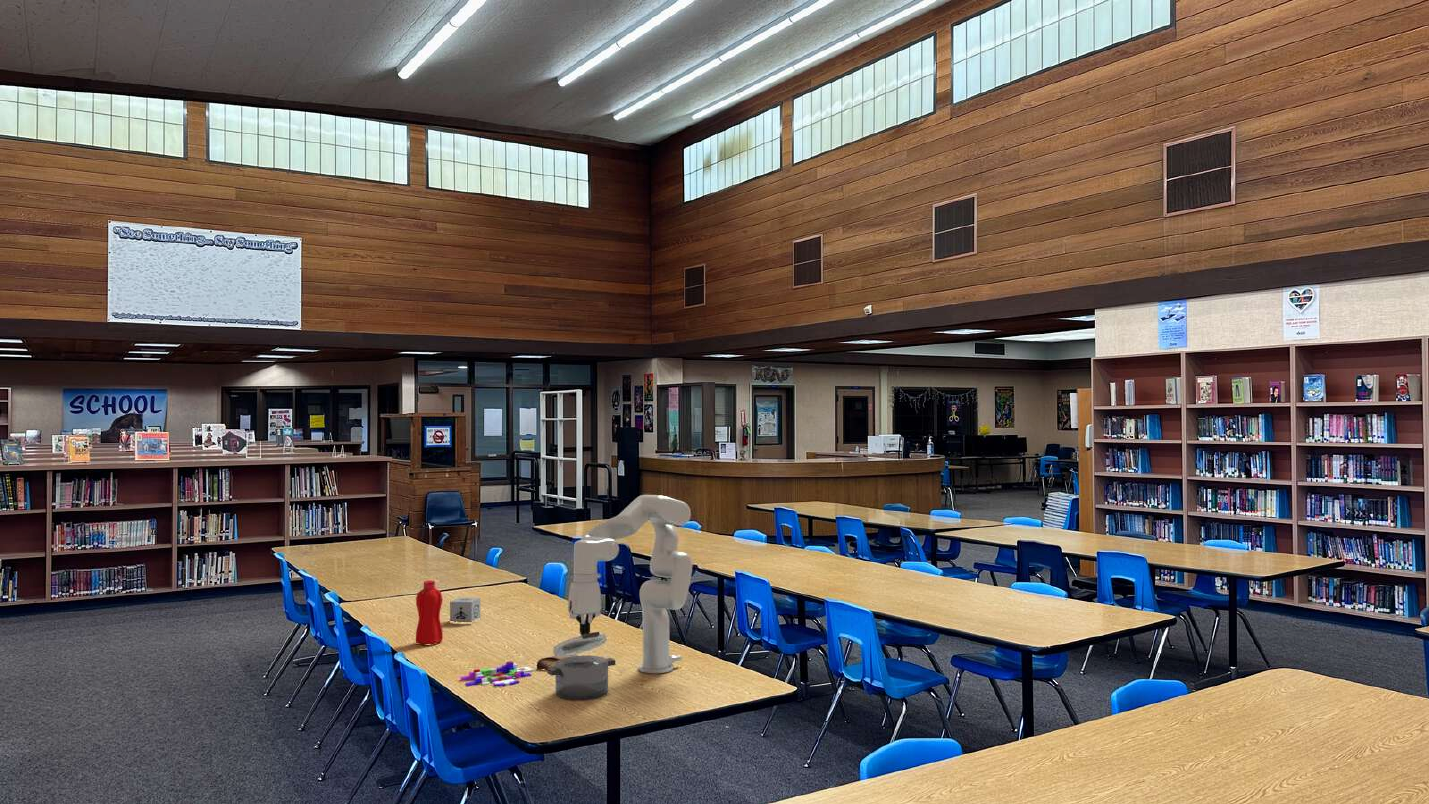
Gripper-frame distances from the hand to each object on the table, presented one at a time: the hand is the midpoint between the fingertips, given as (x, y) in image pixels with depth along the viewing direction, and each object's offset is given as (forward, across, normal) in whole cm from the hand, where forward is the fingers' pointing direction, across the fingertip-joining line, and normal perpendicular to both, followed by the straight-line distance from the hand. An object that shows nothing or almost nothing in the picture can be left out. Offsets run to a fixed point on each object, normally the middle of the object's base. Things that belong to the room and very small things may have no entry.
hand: (584, 635), depth 292 cm
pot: (+19, -1, -3) cm, 20 cm away
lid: (+4, 0, -3) cm, 5 cm away
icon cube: (+19, -3, -131) cm, 133 cm away
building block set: (+20, +15, -35) cm, 43 cm away
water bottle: (+19, +22, -100) cm, 105 cm away
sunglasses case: (+20, -9, -39) cm, 44 cm away
